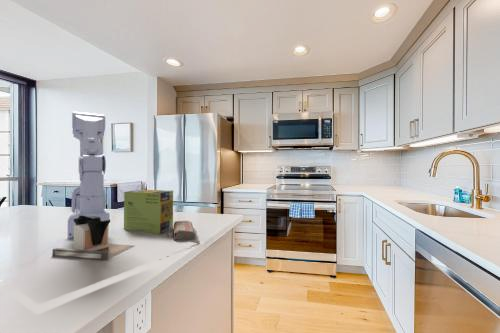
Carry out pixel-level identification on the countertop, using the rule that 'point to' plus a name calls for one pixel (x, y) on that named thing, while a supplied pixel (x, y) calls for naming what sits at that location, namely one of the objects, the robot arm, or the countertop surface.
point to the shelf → (92, 252)
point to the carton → (88, 238)
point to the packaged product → (183, 232)
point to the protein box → (148, 210)
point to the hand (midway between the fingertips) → (91, 242)
